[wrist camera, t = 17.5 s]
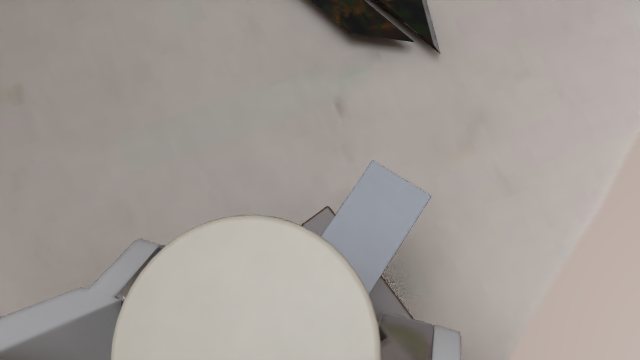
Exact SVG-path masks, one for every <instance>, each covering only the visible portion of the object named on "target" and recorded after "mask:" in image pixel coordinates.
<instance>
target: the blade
mask: <svg viewBox="0 0 640 360" xmlns="http://www.w3.org/2000/svg"><path fill="white" fill-rule="evenodd" d="M430 198H431V196H430V195H429V194H427V193H426V192H424V191H422V190H421V189H419V188H417V187H416V186H414V185H412V184H411V183H409V182H408V181H406V180H404V179H403V178H401V177H399V176H398V175H396V174H395V173H393V172H391V171H390V170H388V169H386V168H385V167H383V166H382V165H380V164H378V163H377V162H375V161H373V160H372V161H371V163H370V164H369V166H368V167H367V169H366V170H365V172H364V173H363V175H362V176H361V178H360V179H359V181H358V182H357V184H356V185H355V187H354V188H353V190H352V191H351V193H350V194H349V196H348V197H347V199H346V200H345V202H344V203H343V204H342V206H341V207H340V209H339V210H338V212H337V213H336V215H335V216H334V218H333V219H332V221H331V222H330V224H329V225H328V227H327V228H326V230H325V231H324V233H323V234H322V236H320V235H318V234H316V233H314V232H313V231H311V230H309V229H307V228H306V227H303V226H301V225H298V224H296V223H293V222H291V221H288V220H284V219H280V218H276V217H270V216H262V215H238V216H231V217H224V218H221V219H217V220H213V221H210V222H207V223H204V224H202V225H200V226H197V227H195V228H193V229H191V230H189V231H187V232H186V233H184V234H182V235H180V236H179V237H177V238H176V239H174V240H173V241H172V242H170V243H169V244H168V245H166V246H165V247H164V248H163V249H162V250H161V251H160V252H159V253H158V254H157V255H155V256H154V257H153V258H152V259H151V261H150V262H149V263H148V264H147V265H146V267H145V268H144V269H143V270H142V271H141V273H140V274H139V276H138V277H137V279H136V281H135V282H134V284H133V285H132V287H131V288H130V290H129V293H128V295H127V297H126V299H125V301H124V303H123V305H122V308H121V311H120V313H119V316H118V319H117V322H116V327H115V331H114V336H113V342H112V351H111V360H381V340H380V334H379V327H378V321H377V318H376V314H375V311H374V307H373V304H372V302H371V299H370V297H369V294H370V292H371V291H372V289H373V287H374V286H375V284H376V283H377V281H378V280H379V278H380V276H381V275H382V273H383V272H384V270H385V269H386V267H387V266H388V264H389V262H390V261H391V259H392V258H393V256H394V255H395V253H396V251H397V250H398V248H399V247H400V245H401V244H402V242H403V240H404V239H405V237H406V236H407V234H408V233H409V231H410V229H411V228H412V226H413V225H414V223H415V222H416V220H417V219H418V217H419V215H420V214H421V212H422V211H423V209H424V208H425V206H426V204H427V203H428V201H429V200H430Z"/></svg>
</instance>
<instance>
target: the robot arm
mask: <svg viewBox="0 0 640 360" xmlns="http://www.w3.org/2000/svg"><path fill="white" fill-rule="evenodd" d="M164 247H165V246H164V245H163V246H162V245H159V244H156V243H153V242H150V241H147V240H144V239H139V240H136V241H134V242H133V243H132V244H131V245H130V246H129V247H128V248H127V249H126V250H125V251H124V252H123V253H122V254H121V255H120V257H119V258H118V259H117V260H116V261H115V262H114V263H113V264H112V265H111V266H110V267H109V268H108V269H107V270H106V271H105V272H104V273H103V274H102V275H101V276H100V277H99V278H98V280H97V281H96V282H95V283H94V284H93V285H92V286H91V287H90V288H89V289H86V288H82V287H81V288H78V289H75V290H73V291H70V292H67V293H65V294H62V295H59V296H57V297H54V298H51V299H49V300H46V301H43V302H41V303H38V304H35V305H33V306H30V307H27V308H25V309H22V310H19V311H16V312H14V313H11V314H8V315H6V316H3V317H0V360H111V351H112V342H113V336H114V331H115V327H116V322H117V319H118V316H119V313H120V311H121V308H122V305H123V303H124V301H125V299H126V297H127V295H128V293H129V290H130V288H131V287H132V285H133V284H134V282H135V281H136V279H137V277H138V276H139V274H140V273H141V271H142V270H143V269H144V268H145V267H146V265H147V264H148V263H149V262H150V261H151V259H152V258H153V257H154V256H155V255H157V254H158V253H159V252H160V251H161V250H162V249H163V248H164ZM378 327H379V334H380V340H381V360H461V335H460V332H458V331H454V330H451V329H447V328H444V327H440V326H436V325H432V324H429V323H425V322H422V321H418V320H415V319H411V318H408V317H404V316H401V315H397V314H394V313H390V312H387V311H382V313H381V316H380V319H379V323H378Z"/></svg>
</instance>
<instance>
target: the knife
mask: <svg viewBox="0 0 640 360" xmlns="http://www.w3.org/2000/svg"><path fill="white" fill-rule="evenodd" d="M311 1H312V2H314V3H315V4H316V5H317V6H318V7H319V8H321V9H322V10H323V11H324V12H325V13H326V14H328V15H329V16H330V17H331V18H332V19H333V20H335V21H336V22H337V23H338V24H339V25H340V26H342V27H343V28H344V29H345V30H346V31H347V32H349V33H350V34H357V35H364V36H372V37H380V38H387V39H395V40H402V41H410V42H414V41H413V40H411V39H410V38H409V37H408V36H407V35H405V34H404V33H403V32H402V31H401V30H399V29H398V28H397V27H396V26H395V25H393V24H392V23H391V22H390V21H388V20H387V19H386V18H385V17H384V16H382V15H381V14H380V13H379V12H378V11H376V10H375V9H374V8H373V7H372V6H370V5H369V4H368V3H367V2H366V1H364V0H311ZM375 1H376V2H378V3H379V4H380V5H381V6H383V7H384V8H385V9H386V10H387V11H389V12H390V13H391V14H392V15H393V16H395V17H396V18H397V19H398V20H400V21H401V22H402V23H403V24H404V25H406V26H407V27H408V28H409V29H411V30H412V31H413V32H414V33H415V34H417V35H418V36H419V37H420V38H421V39H423V40H424V41H425V42H426V43H428V44H429V45H430V46H431V47H432V48H434V49H435V50H436V51H437V52H438V53H440V50H439V47H438V43H437V39H436V35H435V31H434V28H433V24H432V20H431V16H430V12H429V9H428V5H427V1H426V0H375Z"/></svg>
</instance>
